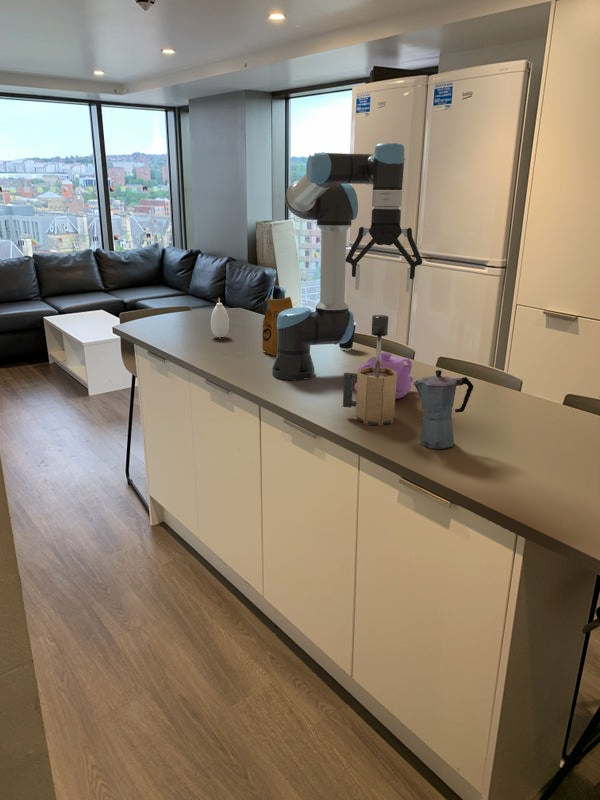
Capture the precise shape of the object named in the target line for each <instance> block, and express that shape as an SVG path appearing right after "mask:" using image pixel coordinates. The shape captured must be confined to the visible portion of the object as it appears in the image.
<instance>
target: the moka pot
mask: <svg viewBox="0 0 600 800" xmlns="http://www.w3.org/2000/svg"><path fill="white" fill-rule="evenodd" d="M442 372H443V371H442V370H441V369H438V370H435V375H431V376H426V377H425V376H424V377H422V378H421V379H418V380H415V381H414V382H413V383H412V386H414V387H415V390H416V392H417V393H418V396H419V398H420V401H421V409H422V410H423V411H422V412H423V416H422V417H421V421H422V425H421V433H420V439H419V443H420V444H421V446H423V447H425V448H427V449H434V450H441V449H443V450H444V449H448V448H450V447H453V446H454V444H455V441H454V440H455V439H454V429H453V419H452V415H453V414H452V413H453V407H454V401H455V395H456V390H457V387H459V386H463V385H467V387H468V388H466V393H465V396H464V398H463V402H462V405H461V406H460V407H459V408H455V409H454V413H463V412H465V409H466V407H467V404H468V403H469V400H470V397H471V394H472V392H473V390H474V385H473V383H472V382H471V381H470V380H469V378H468V377H467V376H464V377H461V378H460V377H453V378H452V377H450V376H447V375H446V376H444V375H443V376H442Z"/></svg>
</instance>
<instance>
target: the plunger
mask: <svg viewBox="0 0 600 800" xmlns="http://www.w3.org/2000/svg"><path fill="white" fill-rule="evenodd" d="M371 317H372V319H371V336H375V337H376V351H375V353H376V354H375V356H376V368H375V372H370V373H366V374H364V375H366V376H369V377H388V376H390V375H389V374H386V373H381V372H380V356H381V353H382V350H381V349H382V337H387V336H388V333H389V332H388V331H389V316H388V315H386V314H385V315H384V314H374V315H372V316H371Z"/></svg>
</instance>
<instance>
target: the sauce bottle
mask: <svg viewBox="0 0 600 800" xmlns="http://www.w3.org/2000/svg"><path fill="white" fill-rule="evenodd" d="M220 301H221V300H220V298H218V302H217V303H216V305H215V307H214V308H213V310H212V313H211V317H210V329H211V332H212V334H213V335H214V336H215V337H216V336H217V337H216V338H218V337H223V338H224V337H225V336H227V334H228V332H229V330H230V329H229V328H230V320H229V315H228V312H227V309H226V308H225V307H224V305H223V303H222V302H220Z"/></svg>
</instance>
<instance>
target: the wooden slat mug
mask: <svg viewBox="0 0 600 800" xmlns="http://www.w3.org/2000/svg"><path fill="white" fill-rule="evenodd" d="M375 368H376V367H367V368H361V369H359V371H358V370H357V372H356V373H355V372H344V373H343V390H342V391H343V394H342V396H343V397H342V408H350V409H351V408H353V407H354V408H355V421H357V422H359V423H361V424H364V425H368V426H378V427H380V426H385V425H386V426H387V425H390V424H393V423H394V422H395V410H396V409H395V408H396V399H395V396H396V381H397V371H395V370H392V369H389V368H384V367H380V372H381V373H386V374H389V375H390V376H388V377H369V376H366V375H364V374H366V373H370V372H375ZM354 380H356V383H357V391H356V398H355V399H356V400H353V386H354V385H353V384H354V382H353V381H354Z"/></svg>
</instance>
